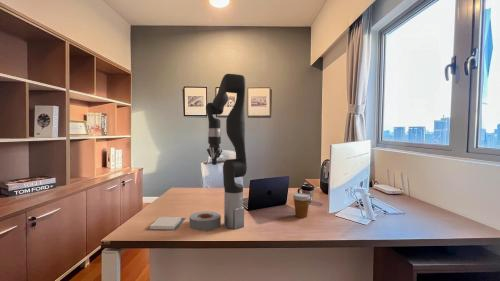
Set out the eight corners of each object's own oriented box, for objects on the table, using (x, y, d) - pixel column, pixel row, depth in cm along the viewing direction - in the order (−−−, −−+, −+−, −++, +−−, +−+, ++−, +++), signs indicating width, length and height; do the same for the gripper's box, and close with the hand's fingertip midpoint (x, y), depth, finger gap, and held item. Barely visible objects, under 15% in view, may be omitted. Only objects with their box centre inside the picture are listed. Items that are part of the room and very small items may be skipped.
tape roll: (187, 222, 133) (187, 212, 133) (216, 219, 139) (216, 210, 139) (191, 233, 119) (191, 222, 119) (224, 229, 125) (224, 218, 124)
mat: (186, 218, 139) (186, 217, 139) (176, 231, 121) (176, 230, 121) (160, 218, 139) (160, 217, 139) (146, 230, 121) (146, 229, 121)
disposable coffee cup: (290, 217, 143) (290, 195, 143) (295, 212, 152) (296, 192, 151) (307, 219, 139) (307, 197, 138) (311, 215, 147) (312, 194, 147)
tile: (181, 217, 134) (173, 226, 121) (181, 220, 135) (173, 229, 122) (160, 216, 135) (150, 225, 122) (160, 220, 135) (150, 229, 122)
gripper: (203, 135, 158) (202, 164, 159) (216, 136, 149) (215, 166, 149) (213, 135, 164) (212, 163, 164) (226, 136, 154) (226, 165, 154)
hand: (214, 164), depth 157 cm, fingers closed
